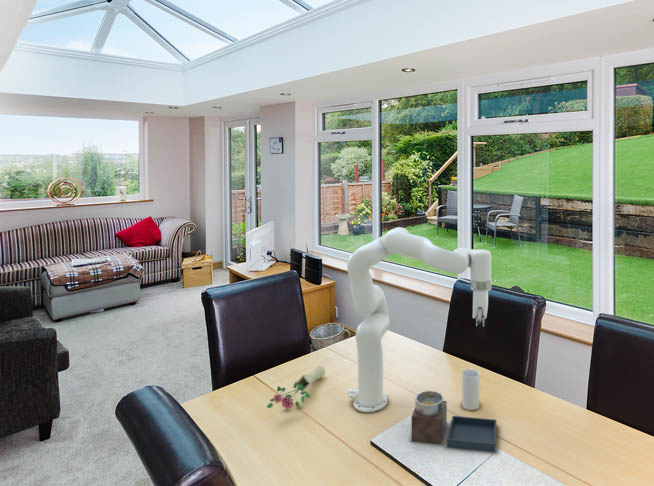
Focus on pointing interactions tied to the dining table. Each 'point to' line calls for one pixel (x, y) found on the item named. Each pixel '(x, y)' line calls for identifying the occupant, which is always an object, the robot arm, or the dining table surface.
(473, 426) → the tray
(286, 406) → the flower vase
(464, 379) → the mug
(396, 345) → the dining table surface
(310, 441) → the dining table surface
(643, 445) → the dining table surface
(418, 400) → the bowl
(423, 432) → the block
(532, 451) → the dining table surface
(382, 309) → the robot arm
